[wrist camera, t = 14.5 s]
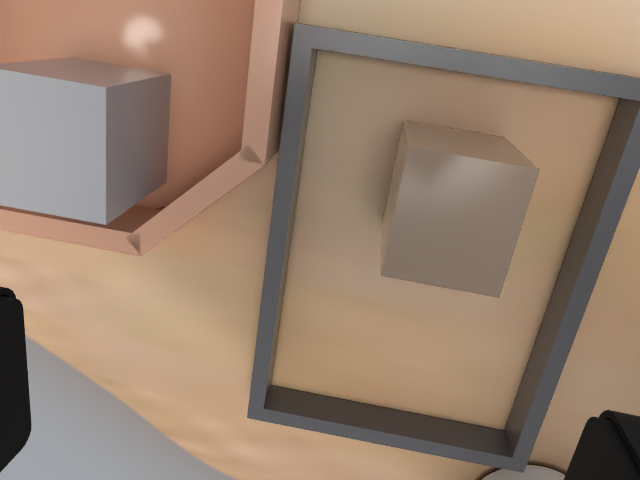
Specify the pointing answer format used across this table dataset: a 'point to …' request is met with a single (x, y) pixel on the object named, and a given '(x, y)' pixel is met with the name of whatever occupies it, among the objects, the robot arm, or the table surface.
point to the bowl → (185, 99)
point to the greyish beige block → (454, 208)
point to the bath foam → (526, 474)
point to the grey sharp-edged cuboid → (81, 136)
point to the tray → (567, 298)
